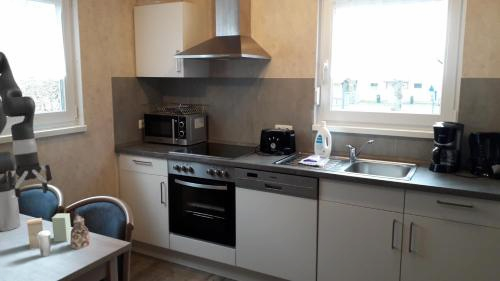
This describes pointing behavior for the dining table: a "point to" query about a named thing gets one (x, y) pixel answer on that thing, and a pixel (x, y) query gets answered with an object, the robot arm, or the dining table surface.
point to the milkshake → (44, 242)
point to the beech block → (37, 227)
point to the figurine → (79, 234)
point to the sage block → (61, 227)
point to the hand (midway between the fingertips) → (32, 195)
